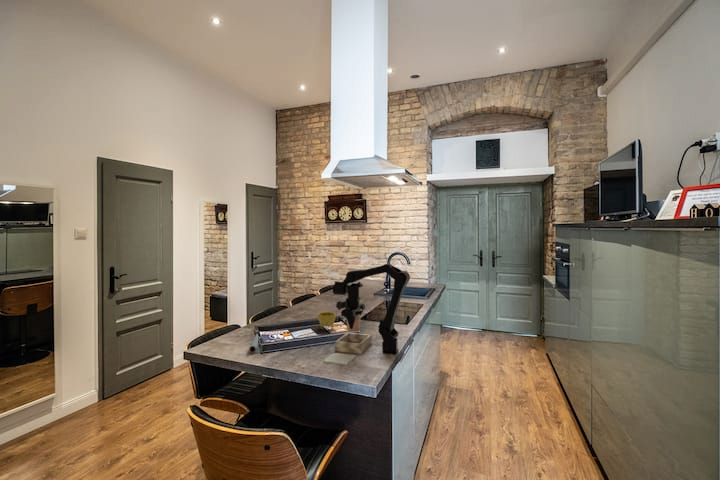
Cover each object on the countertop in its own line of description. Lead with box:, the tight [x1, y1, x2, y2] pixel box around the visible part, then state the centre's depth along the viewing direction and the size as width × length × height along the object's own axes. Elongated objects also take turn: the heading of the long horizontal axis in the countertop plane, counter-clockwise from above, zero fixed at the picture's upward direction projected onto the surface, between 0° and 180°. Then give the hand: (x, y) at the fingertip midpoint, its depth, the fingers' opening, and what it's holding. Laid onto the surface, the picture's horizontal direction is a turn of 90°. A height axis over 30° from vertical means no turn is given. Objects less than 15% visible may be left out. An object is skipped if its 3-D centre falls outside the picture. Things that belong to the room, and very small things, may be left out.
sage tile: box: [323, 352, 356, 366], centre depth 152 cm, size 11×11×1 cm
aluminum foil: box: [248, 333, 261, 354], centre depth 174 cm, size 23×7×3 cm, turn 9°
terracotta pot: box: [346, 314, 362, 332], centre depth 169 cm, size 7×7×7 cm
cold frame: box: [334, 332, 373, 355], centre depth 169 cm, size 13×16×4 cm
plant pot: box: [317, 311, 337, 327], centre depth 200 cm, size 10×10×10 cm
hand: (353, 326), depth 169 cm, fingers closed on terracotta pot, 6 cm apart
